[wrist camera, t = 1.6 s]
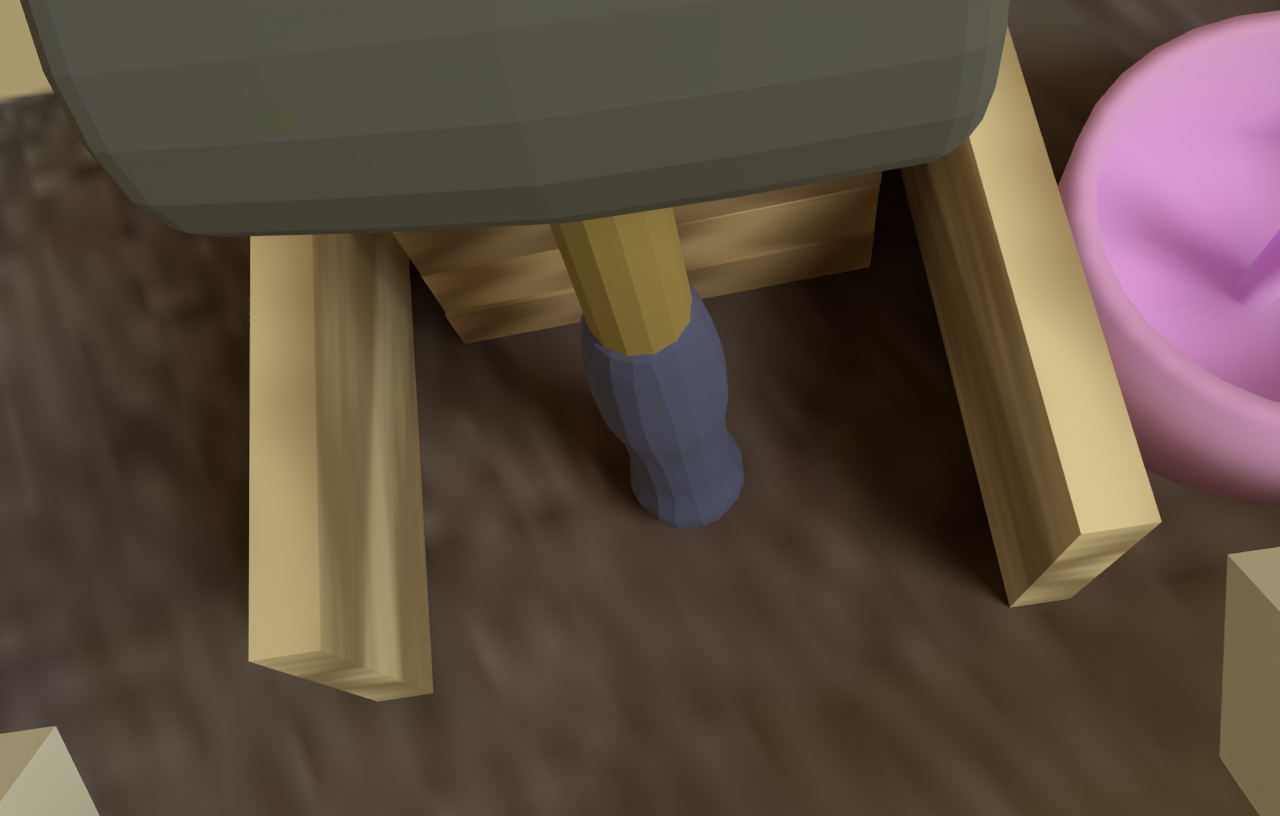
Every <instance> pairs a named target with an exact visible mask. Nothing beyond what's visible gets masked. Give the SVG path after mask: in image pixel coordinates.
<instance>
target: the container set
mask: <svg viewBox="0 0 1280 816" xmlns="http://www.w3.org/2000/svg"><path fill="white" fill-rule="evenodd" d="M1058 190H1059V193H1060V196H1061V199H1062V203H1063V206H1064V209H1065V212H1066V215H1067V219H1068V222H1069V225H1070V228H1071V232H1072V235H1073V238H1074V241H1075V244H1076V248H1077V251H1078V254H1079V257H1080V261H1081V264H1082V267H1083V270H1084V273H1085V277H1086V280H1087V283H1088V286H1089V290H1090V293H1091V296H1092V299H1093V302H1094V306H1095V309H1096V312H1097V315H1098V319H1099V322H1100V325H1101V328H1102V331H1103V335H1104V338H1105V341H1106V344H1107V348H1108V351H1109V354H1110V357H1111V360H1112V364H1113V367H1114V370H1115V373H1116V377H1117V380H1118V383H1119V386H1120V389H1121V393H1122V396H1123V399H1124V402H1125V406H1126V409H1127V412H1128V415H1129V418H1130V422H1131V425H1132V428H1133V431H1134V435H1135V438H1136V441H1137V444H1138V447H1139V451H1140V454H1141V457H1142V460H1143V464H1144V467H1145V468H1146V469H1148V470H1150V471H1152V472H1154V473H1157V474H1159V475H1161V476H1163V477H1165V478H1168V479H1170V480H1172V481H1174V482H1176V483H1179V484H1181V485H1183V486H1185V487H1187V488H1190V489H1194V490H1197V491H1201V492H1205V493H1209V494H1212V495H1216V496H1220V497H1224V498H1228V499H1231V500H1235V501H1245V502H1257V503H1268V504H1279V505H1280V10H1279V11H1271V12H1264V13H1256V14H1248V15H1241V16H1235V17H1232V18H1229V19H1225V20H1222V21H1219V22H1215V23H1212V24H1209V25H1205V26H1202V27H1199V28H1195V29H1193V30H1191V31H1189V32H1187V33H1185V34H1183V35H1181V36H1179V37H1177V38H1175V39H1173V40H1171V41H1169V42H1167V43H1165V44H1163V45H1161V46H1159V47H1157V48H1155V49H1153V50H1152V51H1151V52H1150V53H1148V54H1147V55H1146V56H1144V57H1143V58H1142V59H1140V60H1139V61H1138V62H1136V63H1135V64H1134V65H1133V66H1131V67H1130V68H1129V69H1127V70H1126V71H1125V72H1123V73H1122V74H1121V75H1120V76H1119V78H1118V79H1117V80H1116V81H1115V82H1114V83H1113V85H1112V86H1111V87H1110V88H1109V89H1108V90H1107V92H1106V93H1105V94H1104V95H1103V96H1102V97H1101V99H1100V100H1099V101H1098V102H1097V103H1096V104H1095V106H1094V108H1093V110H1092V112H1091V114H1090V116H1089V118H1088V120H1087V122H1086V124H1085V125H1084V127H1083V129H1082V131H1081V133H1080V135H1079V137H1078V139H1077V141H1076V143H1075V146H1074V148H1073V151H1072V153H1071V156H1070V158H1069V161H1068V163H1067V165H1066V168H1065V170H1064V173H1063V175H1062V178H1061V180H1060V182H1059V185H1058Z"/></svg>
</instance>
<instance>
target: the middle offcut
mask: <svg viewBox="0 0 1280 816" xmlns="http://www.w3.org/2000/svg"><path fill="white" fill-rule="evenodd" d="M879 187H880V186H879V184H876V185H871V186H866V187H861V188H856V189H851V190H847V191H842V192H837V193H832V194H827V195H822V196H817V197H812V198H807V199H802V200H797V201H792V202H787V203H782V204H777V205H773V206H768V207H763V208H758V209H753V210H748V211H743V212H738V213H733V214H728V215H723V216H718V217H713V218H708V219H704V220H699V221H694V222H689V223H684V224H679V225H676V226H677V231H678V236H679V240H680V245H681V249H682V254H683V259H684V263H685V267H687V266H692V265H697V264H703V263H708V262H713V261H718V260H724V259H729V258H734V257H739V256H745V255H750V254H755V253H760V252H766V251H771V250H776V249H781V248H787V247H792V246H797V245H802V244H808V243H813V242H818V241H823V240H829V239H834V238H839V237H844V236H850V235H855V234H860V233H865V232H871V231H874V227H875V219H876V211H877V203H878V195H879ZM420 275H421V274H420ZM421 277H422V278H423V280H424V281H425V283H426V284H427V286H428V287H429V289H430V290H431V292H432V293H433V295H434V296H435V298H436V299H437V300H438V302H439V303H440V305H441V306H442V308H443V309H444V311H445V312H450V311H456V310H461V309H466V308H471V307H477V306H482V305H487V304H493V303H498V302H503V301H508V300H514V299H519V298H524V297H529V296H535V295H540V294H545V293H550V292H556V291H561V290H566V289H571V288H574V287H573V285H572V282H571V279H570V277H569V274H568V272H567V269H566V266H565V264H564V261H563V258H562V256H561V253H560V251H559V249H555V250H551V251H546V252H541V253H536V254H531V255H526V256H521V257H516V258H511V259H506V260H501V261H496V262H491V263H486V264H481V265H476V266H471V267H467V268H462V269H457V270H452V271H447V272H442V273H437V274H432V275H427V276H422V275H421Z"/></svg>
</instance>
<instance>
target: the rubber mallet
mask: <svg viewBox="0 0 1280 816" xmlns="http://www.w3.org/2000/svg"><path fill="white" fill-rule="evenodd" d="M20 1H21V5H22V8H23V11H24V14H25V17H26V20H27V23H28V26H29V29H30V32H31V35H32V38H33V41H34V45H35V47H36V51H37V54H38V57H39V60H40V63H41V66H42V69H43V72H44V74H45V76H46V78H47V80H48V82H49V84H50V85H51V87H52V89H53V91H54V93H55V95H56V97H57V99H58V101H59V103H60V105H61V107H62V108H63V110H64V112H65V114H66V116H67V118H68V120H69V122H70V124H71V126H72V128H73V130H74V131H75V133H76V135H77V137H78V139H79V140H80V141H81V142H82V144H83V145H84V146H85V147H86V149H87V150H88V151H89V152H90V154H91V155H92V156H93V157H94V159H95V160H96V161H97V162H98V163H99V165H100V166H101V167H102V168H103V170H104V171H105V172H106V173H107V175H108V176H109V177H110V178H111V180H112V181H113V182H114V183H115V185H116V186H117V187H118V188H119V189H120V190H121V191H122V192H123V193H124V194H125V195H126V196H127V197H128V198H129V199H130V200H131V201H132V202H133V203H134V204H136V205H137V206H139V207H140V208H142V209H143V210H145V211H146V212H148V213H149V214H151V215H152V216H154V217H155V218H157V219H158V220H160V221H161V222H163V223H164V224H165V225H167V226H168V227H170V228H171V229H174V230H178V231H182V232H185V233H189V234H197V235H208V236H219V237H243V236H281V235H318V234H356V233H388V232H407V231H426V230H445V229H465V228H484V227H503V226H522V225H541V224H550V227H551V229H552V232H553V235H554V237H555V240H556V243H557V245H558V248H559V251H560V253H561V256H562V258H563V261H564V264H565V266H566V269H567V272H568V274H569V277H570V279H571V282H572V285H573V287H574V290H575V293H576V295H577V298H578V301H579V303H580V306H581V308H582V311H583V313H582V316H581V345H582V356H583V360H584V365H585V370H586V374H587V379H588V383H589V386H590V389H591V392H592V394H593V397H594V399H595V402H596V404H597V406H598V408H599V411H600V413H601V415H602V417H603V419H604V421H605V423H606V424H607V426H608V427H609V429H610V430H611V431H612V432H613V433H614V434H615V435H616V436H617V437H618V438H619V439H620V440H621V441H622V442H623V443H624V444H625V446H626V448H627V450H628V453H629V455H630V476H631V486H632V489H633V492H634V494H635V496H636V498H637V500H638V502H639V504H640V505H641V506H642V507H644V508H645V509H646V510H647V511H648V512H649V513H650V514H652V515H653V516H654V517H655V518H656V519H657V520H659V521H660V522H661V523H663V524H666V525H670V526H673V527H676V528H691V527H704V526H706V525H708V524H710V523H712V522H714V521H716V520H718V519H720V518H721V517H722V515H723V514H724V513H725V512H726V511H727V510H728V509H729V508H730V506H731V505H732V504H733V503H734V502H735V501H736V500H737V499H738V497H739V495H740V492H741V489H742V486H743V483H744V473H743V460H742V453H741V450H740V448H739V446H738V444H737V442H736V440H735V438H734V437H733V436H732V435H731V434H730V433H729V432H728V431H727V426H726V420H725V414H726V409H727V404H728V384H727V370H726V362H725V357H724V352H723V348H722V344H721V341H720V338H719V336H718V333H717V331H716V328H715V326H714V323H713V320H712V318H711V316H710V315H709V313H708V311H707V309H706V307H705V305H704V304H703V302H702V300H701V298H700V296H699V294H698V292H697V290H696V289H695V288H694V287H693V286H692V285H691V284H690V283H689V282H688V277H687V273H686V268H685V263H684V259H683V254H682V249H681V245H680V240H679V236H678V231H677V226H676V222H675V217H674V212H673V208H672V207H676V206H683V205H690V204H696V203H703V202H709V201H716V200H722V199H729V198H735V197H742V196H747V195H753V194H759V193H764V192H770V191H775V190H781V189H786V188H792V187H797V186H803V185H808V184H814V183H819V182H825V181H830V180H836V179H841V178H847V177H852V176H858V175H864V174H869V173H875V172H880V171H886V170H891V169H897V168H902V167H908V166H913V165H919V164H924V163H930V162H932V161H934V160H936V159H939V158H941V157H943V156H945V155H947V154H949V153H951V152H952V151H954V150H955V149H957V148H959V147H960V146H962V145H963V144H964V143H965V142H966V140H967V139H968V138H969V137H970V135H971V134H972V133H973V131H974V130H975V129H976V128H977V126H978V125H979V124H980V122H981V121H982V120H983V118H984V115H985V113H986V110H987V108H988V105H989V103H990V100H991V98H992V95H993V93H994V90H995V87H996V83H997V78H998V73H999V68H1000V63H1001V57H1002V52H1003V47H1004V42H1005V36H1006V31H1007V23H1008V11H1009V0H20Z"/></svg>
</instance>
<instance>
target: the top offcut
mask: <svg viewBox="0 0 1280 816" xmlns="http://www.w3.org/2000/svg"><path fill="white" fill-rule="evenodd" d="M881 179H882V171H880V172H875V173H869V174H864V175H858V176H852V177H847V178H841V179H836V180H830V181H825V182H819V183H814V184H808V185H803V186H797V187H792V188H786V189H781V190H775V191H770V192H764V193H759V194H753V195H747V196H742V197H735V198H729V199H722V200H716V201H709V202H703V203H696V204H690V205H683V206H676V207H672V208H673V212H674V217H675V222H676V225H679V224H684V223H689V222H694V221H699V220H704V219H708V218H713V217H718V216H723V215H728V214H733V213H738V212H743V211H748V210H753V209H758V208H763V207H768V206H773V205H777V204H782V203H787V202H792V201H797V200H802V199H807V198H812V197H817V196H822V195H827V194H832V193H837V192H842V191H847V190H851V189H856V188H861V187H866V186H871V185H876V184H881ZM393 234H394V236H395V237H396V239H397V240H398V242H399V243H400V245H401V246H402V247H403V249H404V250H405V252H406V253H407V255H408V256H409V258H410V259H411V261H412V262H413V264H414V265H415V267H416V268H417V270H418V271H419V273H420V274H421V275H422V276H427V275H432V274H437V273H442V272H447V271H452V270H457V269H462V268H467V267H471V266H476V265H481V264H486V263H491V262H496V261H501V260H506V259H511V258H516V257H521V256H526V255H531V254H536V253H541V252H546V251H551V250H555V249H559V248H558V245H557V243H556V240H555V237H554V235H553V232H552V229H551V227H550V224H541V225H522V226H503V227H484V228H465V229H445V230H426V231H407V232H393Z"/></svg>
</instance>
